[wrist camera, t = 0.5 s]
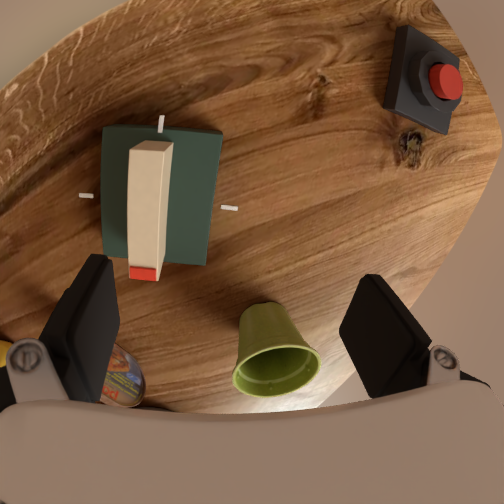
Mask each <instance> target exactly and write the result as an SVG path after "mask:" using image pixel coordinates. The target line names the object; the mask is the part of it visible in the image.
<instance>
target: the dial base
mask: <svg viewBox="0 0 504 504" xmlns="http://www.w3.org/2000/svg"><path fill="white" fill-rule="evenodd" d="M163 123H164V115H160V117H159V125H158V126H156V125H134V124H113V125H109V126H105V127H103V133H102V149H101V224H102V240H103V253H104V255H106V256H110V257H120V258H128V242H127V188H128V165H129V150H130V149H131V148H133V147H135V146H136V145H138V144H140V143H141V142H143V141H145V140H147V141H163V142H173V143H174V144H173V152H172V162H171V172H170V183H169V195H168V209H167V225H166V248H165V256H164V260H163V262H171V263H182V264H193V265H204V266H205V265H206V256H207V248H208V239H209V231H210V223H211V215H212V208H213V201H214V193H215V186H216V179H217V173H218V166H219V159H220V153H221V147H222V141H223V133H222V132H221V131H213V130H204V129H195V128H184V127H172V126H163ZM79 197H83V198H93V194H90V193H79ZM221 209H227V210H236V211H237V210H238V206H232V205H223V204H221Z"/></svg>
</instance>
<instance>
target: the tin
mask: <svg viewBox="0 0 504 504" xmlns="http://www.w3.org/2000/svg"><path fill="white" fill-rule="evenodd" d="M145 392H146V382H145V377H144V374H143V371H142V369H141V367H140V365H139V364H138V362H137V361H136V360H135V359H134V357H133V356H131V355H130V354H129V353H128V352H126V351H125V350H124V349H122V348H121V347H120V346H118V345H117V344H116V343H114V347H113V350H112V354H111V358H110V361H109V365H108V369H107V373H106V377H105V381H104V385H103V390H102V394H101V398H100V401H101V402H103V403H105V404H106V405H110V406H117V407H125V408H127V407H133V406H136V405H138V404H139V403H140V402H141V401H142V400H143V398H144V396H145Z"/></svg>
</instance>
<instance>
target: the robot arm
mask: <svg viewBox="0 0 504 504" xmlns="http://www.w3.org/2000/svg"><path fill="white" fill-rule="evenodd" d="M119 325H120V317H119V310H118V304H117V297H116V289H115V281H114V272H113V263H112V260H110V259H108V257H107V256H106V255H101V254H91V255H90V256H89V257H88V259H87V260H86V262H85V264H84V265H83V267H82V268H81V270H80V271H79V273H78V275H77V276H76V278H75V279H74V281H73V283H72V284H71V286H70V288H67V289H66V290H65V291H64V293H63V295H62V297H61V298H60V300H59V302H58V303H57V305H56V307H55V309H54V311H53V312H52V314H51V316H50V318H49V320H48V321H47V323H46V325H45V327H44V329H43V331H42V333H41V335H40V337H39V339H35V338H24V339H20V340H18V341H16V342H15V343H14V344H13V345H12V346H10V348H9V350H8V351H7V354H6V358H5V359H6V365H5V366H2V367H0V504H504V405H503V404H502V403H501V401H500V400H499V399H498V397H497V396H496V395H495V394H494V392H493V391H492V390H491V388H490V386H489V385H488V384H487V383H485V382H482V381H480V380H478V379H476V378H474V377H472V376H470V375H468V374H466V373H464V372H462V371H460V365H459V360H458V358H457V356H456V355H455V354H454V353H453V352H452V351H451V350H450V349H448V348H446V347H444V346H440V345H436V346H434V347H432V349H431V350H430V351H429V349H428V347H429V345H430V344H431V342H432V340H431V339H430V337H429V336H428V335H427V334H426V332H425V331H424V330H423V328H422V327H421V325H420V324H419V323H418V321H417V320H416V319H415V318H414V316H413V315H412V314H411V313H410V311H409V310H408V309H407V307H406V306H405V305H404V304H403V302H402V301H401V300H400V299H399V297H398V296H397V295H396V294H395V292H394V291H393V290H392V289H391V287H390V286H389V285H388V284H387V283H386V281H385V280H384V279H383V278H382V277H381V276H380V275H378V274H366V275H365V276H364V277H363V278H361V279H360V281H359V284H358V286H357V289H356V291H355V294H354V296H353V298H352V301H351V303H350V305H349V308H348V310H347V312H346V314H345V317H344V319H343V321H342V323H341V325H340V328H339V335H340V337H341V339H342V341H343V343H344V345H345V347H346V349H347V351H348V353H349V355H350V357H351V359H352V362H353V364H354V366H355V368H356V370H357V372H358V374H359V376H360V378H361V380H362V382H363V385H364V387H365V389H366V391H367V393H368V395H369V396H370V397H371V398H372V399H369V400H365V401H359V402H354V403H348V404H342V405H336V406H329V407H321V408H313V409H305V410H295V411H284V412H270V413H248V414H198V413H178V412H164V411H152V410H142V409H133V408H125V407H117V406H110V405H103V404H96V403H95V401H99V400H100V398H101V394H102V390H103V385H104V381H105V377H106V373H107V369H108V365H109V361H110V358H111V354H112V350H113V347H114V343H115V340H116V336H117V333H118V330H119Z"/></svg>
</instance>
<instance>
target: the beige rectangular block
mask: <svg viewBox="0 0 504 504" xmlns="http://www.w3.org/2000/svg"><path fill="white" fill-rule="evenodd" d="M173 144H174V143H173V142H163V141H147V140H145V141H143V142H141V143H140V144H138V145H136V146H135V147H133V148H131V149H130V150H129V165H128V188H127V242H128V265H129V278H130V279H140V280H149V281H158V280H159V276H160V272H161V268H162V264H163V260H164V256H165V248H166V225H167V209H168V195H169V183H170V172H171V162H172V152H173Z"/></svg>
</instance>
